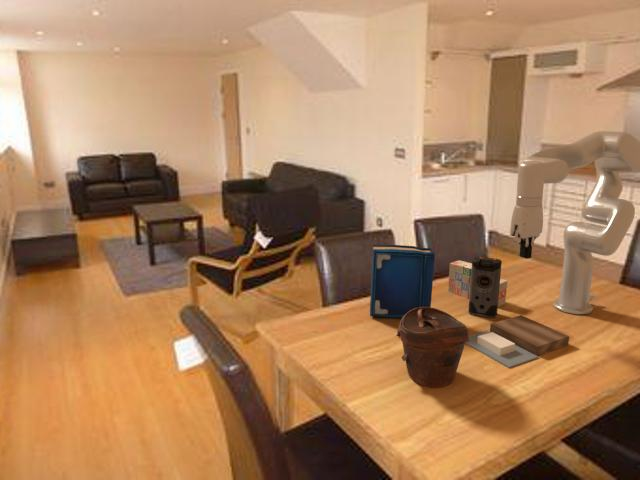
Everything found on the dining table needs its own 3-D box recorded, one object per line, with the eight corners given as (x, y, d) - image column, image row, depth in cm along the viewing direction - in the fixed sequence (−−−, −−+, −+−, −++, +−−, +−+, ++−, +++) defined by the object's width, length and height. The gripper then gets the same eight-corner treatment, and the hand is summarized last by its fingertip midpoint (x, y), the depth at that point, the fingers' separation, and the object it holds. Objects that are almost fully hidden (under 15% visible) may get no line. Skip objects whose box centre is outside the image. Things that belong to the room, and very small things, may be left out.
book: (430, 312, 175) (434, 244, 169) (433, 320, 168) (436, 250, 162) (369, 310, 177) (371, 243, 171) (369, 318, 170) (371, 249, 164)
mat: (486, 331, 160) (486, 330, 159) (538, 357, 142) (538, 356, 142) (458, 339, 154) (458, 338, 154) (508, 368, 137) (509, 366, 137)
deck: (520, 323, 165) (520, 315, 164) (568, 345, 150) (569, 336, 149) (489, 332, 159) (490, 323, 158) (536, 356, 144) (537, 346, 143)
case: (413, 350, 147) (415, 295, 142) (478, 372, 135) (482, 312, 130) (381, 376, 134) (382, 316, 129) (449, 403, 122) (453, 338, 117)
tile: (477, 336, 150) (477, 343, 151) (500, 348, 142) (499, 355, 143) (492, 331, 153) (491, 338, 153) (515, 343, 145) (514, 351, 146)
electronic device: (467, 314, 173) (471, 260, 168) (470, 308, 178) (474, 255, 173) (495, 319, 169) (499, 263, 163) (497, 313, 174) (502, 259, 168)
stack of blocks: (505, 304, 182) (508, 272, 179) (496, 308, 178) (499, 276, 175) (457, 288, 198) (459, 259, 195) (447, 292, 194) (449, 262, 191)
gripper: (535, 196, 159) (531, 250, 164) (502, 203, 152) (499, 258, 157) (555, 199, 152) (550, 255, 158) (522, 207, 146) (519, 265, 151)
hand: (525, 257), depth 157 cm, fingers closed
